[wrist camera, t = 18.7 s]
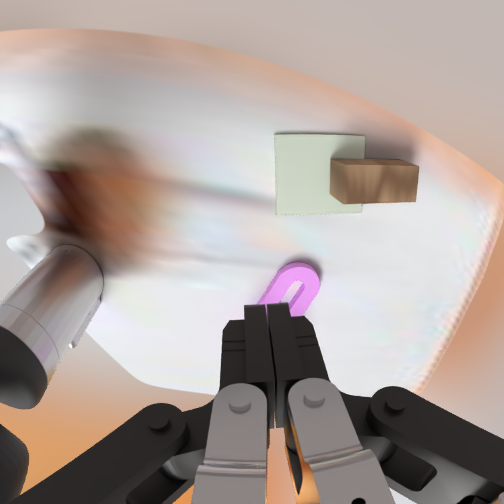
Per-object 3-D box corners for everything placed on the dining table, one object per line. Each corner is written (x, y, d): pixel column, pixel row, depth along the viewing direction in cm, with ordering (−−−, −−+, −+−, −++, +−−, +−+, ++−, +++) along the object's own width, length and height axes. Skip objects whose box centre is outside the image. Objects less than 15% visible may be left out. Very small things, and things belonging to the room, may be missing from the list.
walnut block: (329, 194, 34) (397, 192, 35) (343, 204, 30) (415, 201, 31) (330, 158, 32) (400, 159, 33) (344, 164, 29) (419, 166, 29)
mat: (360, 212, 36) (361, 213, 35) (276, 214, 36) (276, 215, 35) (363, 135, 32) (365, 136, 32) (274, 134, 32) (274, 134, 31)
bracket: (274, 344, 44) (279, 379, 38) (239, 331, 43) (239, 367, 36) (325, 272, 39) (340, 303, 33) (288, 254, 38) (297, 284, 32)
